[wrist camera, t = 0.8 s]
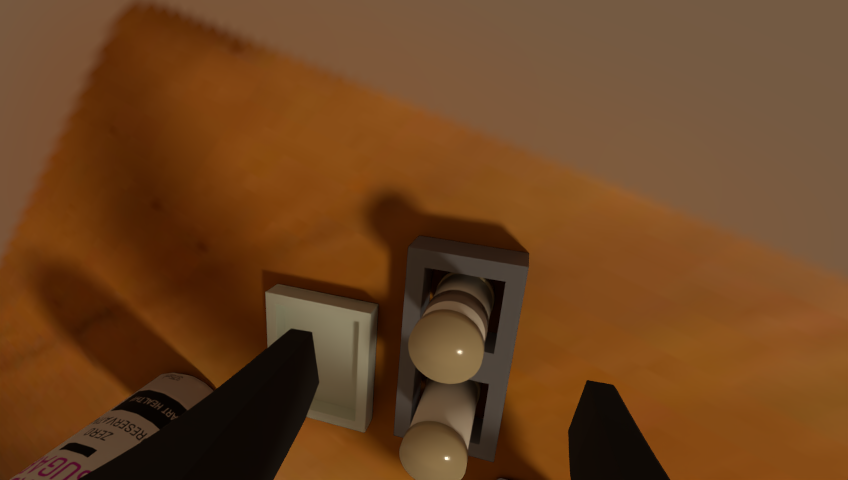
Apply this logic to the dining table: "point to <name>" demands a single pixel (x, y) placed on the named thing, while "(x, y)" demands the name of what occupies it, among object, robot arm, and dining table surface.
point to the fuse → (440, 431)
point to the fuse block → (497, 345)
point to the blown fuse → (453, 329)
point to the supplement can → (120, 428)
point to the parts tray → (332, 349)
